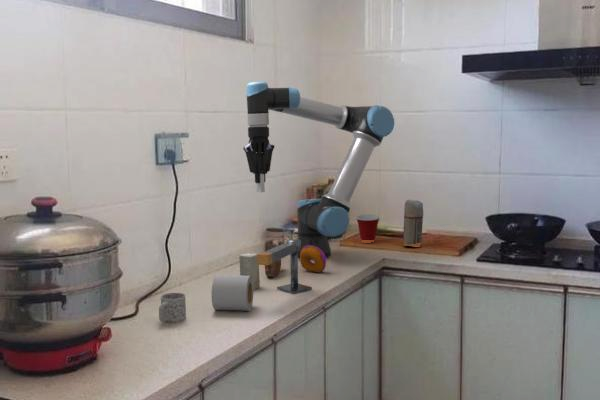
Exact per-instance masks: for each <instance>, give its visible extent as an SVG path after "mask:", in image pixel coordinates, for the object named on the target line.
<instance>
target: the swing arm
mask: <svg viewBox="0 0 600 400" xmlns="http://www.w3.org/2000/svg"><path fill="white" fill-rule="evenodd" d="M300 250H301V240H299V239H297V238H291V239H287V240H286V242H284V243H281V244H280V245H278V246H274V247H273V248H270V249H267V250H265V251H262V252H259V253H256V254H257V264H258V265H259V266H260V265H262V266H265V265H270V264H272V263H273V262H275V261H277V260H279V259H281V260H282V259H284V258H285V257H288V256H290V254H292V253H294V252H296V251H300Z"/></svg>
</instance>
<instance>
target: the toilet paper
mask: <svg viewBox="0 0 600 400" xmlns="http://www.w3.org/2000/svg"><path fill="white" fill-rule="evenodd" d="M254 290H255V289H254V287H253V279H252V277H251V276H240V275H236V274H235V275H232V274H231V275H229V274H227V275H226V274H224V275H223V274H216V275H215V276H214V277H213V281H212V284H211V304H212V308H213V309H214V310H215V311H219V310H220V311H224V310H225V311H245V312H246V311H247V312H248V311H249V312H250V311H251V310H252V306H253V303H254V293H255V292H254Z"/></svg>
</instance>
